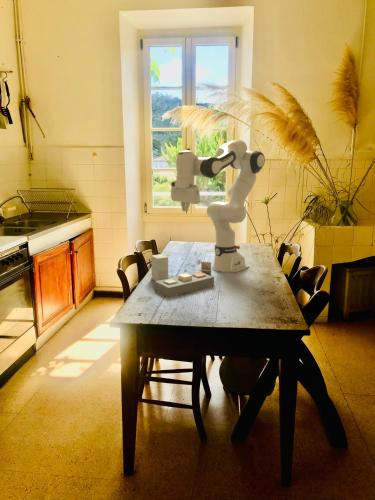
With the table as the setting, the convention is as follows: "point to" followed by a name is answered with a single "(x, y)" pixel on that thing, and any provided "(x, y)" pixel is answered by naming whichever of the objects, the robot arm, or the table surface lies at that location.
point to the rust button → (199, 275)
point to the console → (184, 285)
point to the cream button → (184, 277)
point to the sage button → (170, 282)
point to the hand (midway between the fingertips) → (185, 211)
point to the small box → (159, 267)
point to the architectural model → (205, 267)
